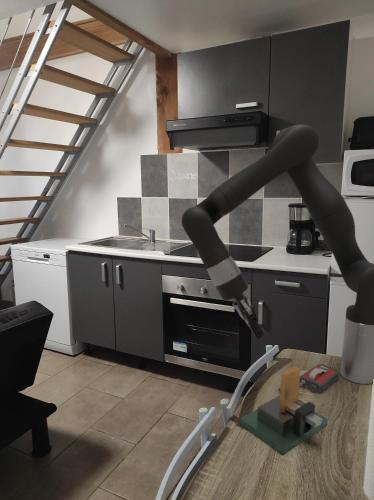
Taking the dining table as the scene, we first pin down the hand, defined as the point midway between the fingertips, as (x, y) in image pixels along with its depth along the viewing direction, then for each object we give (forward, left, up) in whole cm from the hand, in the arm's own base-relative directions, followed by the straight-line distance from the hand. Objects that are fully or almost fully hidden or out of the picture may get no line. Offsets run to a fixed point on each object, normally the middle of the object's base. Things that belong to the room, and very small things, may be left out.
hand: (260, 336), depth 94 cm
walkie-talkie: (-15, +6, -16) cm, 23 cm away
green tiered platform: (+5, +12, -16) cm, 21 cm away
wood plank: (+5, +17, -11) cm, 21 cm away
